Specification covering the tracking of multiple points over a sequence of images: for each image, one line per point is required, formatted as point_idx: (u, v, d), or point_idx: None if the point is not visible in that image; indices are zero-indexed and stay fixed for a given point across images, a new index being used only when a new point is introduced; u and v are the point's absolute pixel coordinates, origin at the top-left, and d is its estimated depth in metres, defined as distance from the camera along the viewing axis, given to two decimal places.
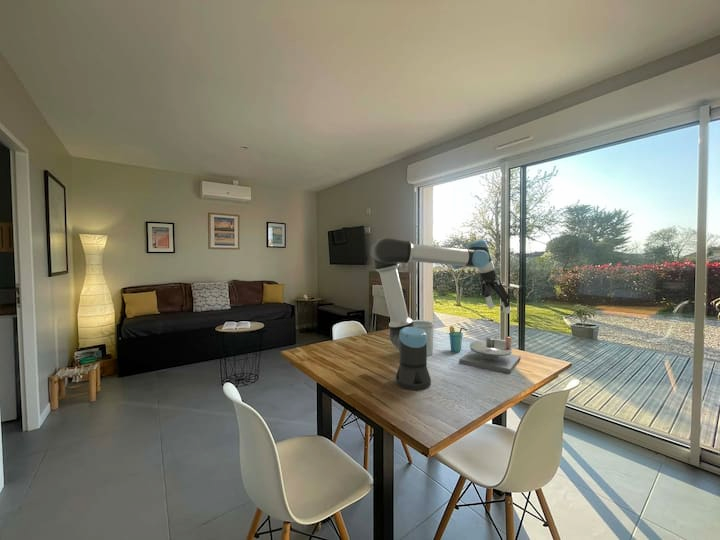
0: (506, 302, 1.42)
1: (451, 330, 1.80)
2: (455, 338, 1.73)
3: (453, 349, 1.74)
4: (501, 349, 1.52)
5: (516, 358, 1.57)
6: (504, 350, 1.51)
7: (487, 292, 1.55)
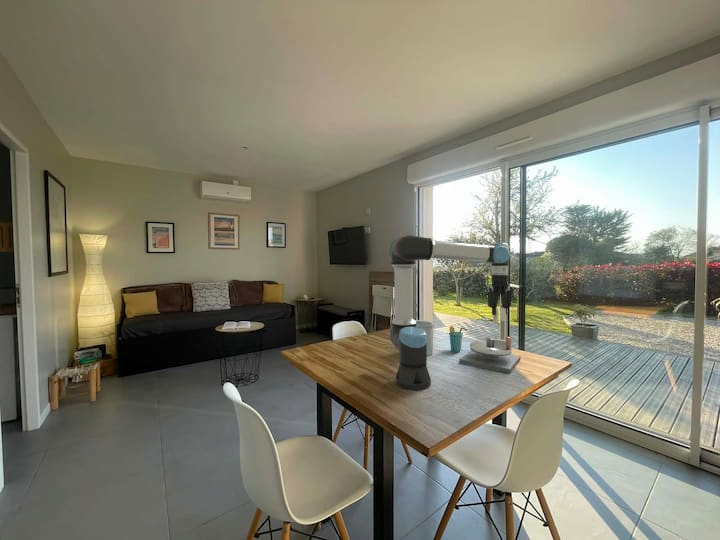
0: (492, 310, 1.50)
1: (451, 330, 1.80)
2: (455, 338, 1.73)
3: (453, 349, 1.75)
4: (501, 349, 1.52)
5: (516, 358, 1.57)
6: (504, 350, 1.51)
7: (502, 300, 1.51)
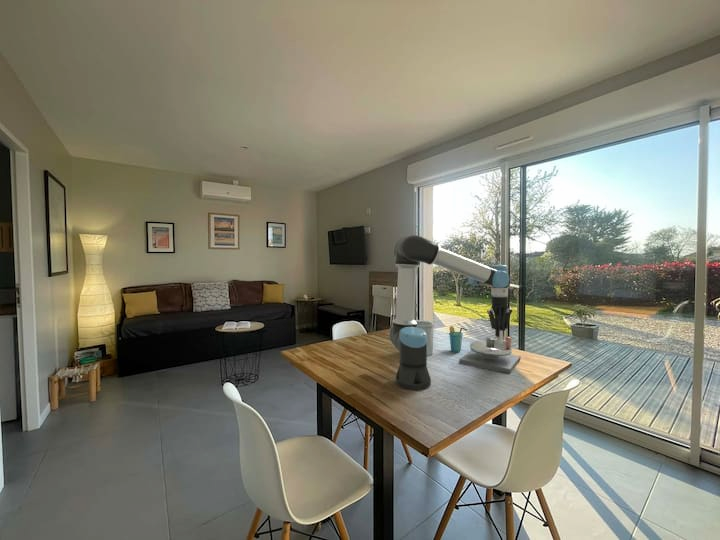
0: (496, 332, 1.51)
1: (451, 330, 1.80)
2: (455, 338, 1.73)
3: (453, 349, 1.74)
4: (501, 349, 1.52)
5: (516, 358, 1.57)
6: (504, 350, 1.51)
7: (500, 322, 1.51)
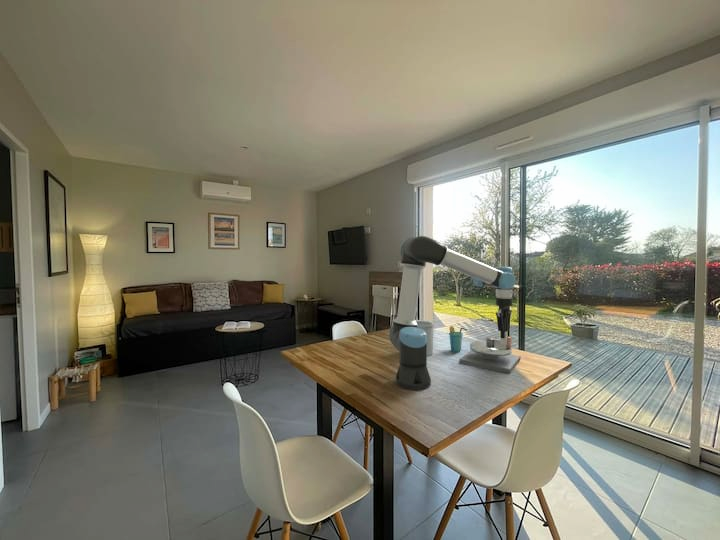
0: (502, 333, 1.51)
1: (451, 330, 1.80)
2: (455, 338, 1.73)
3: (453, 349, 1.74)
4: (502, 349, 1.52)
5: (516, 358, 1.57)
6: (504, 350, 1.51)
7: None
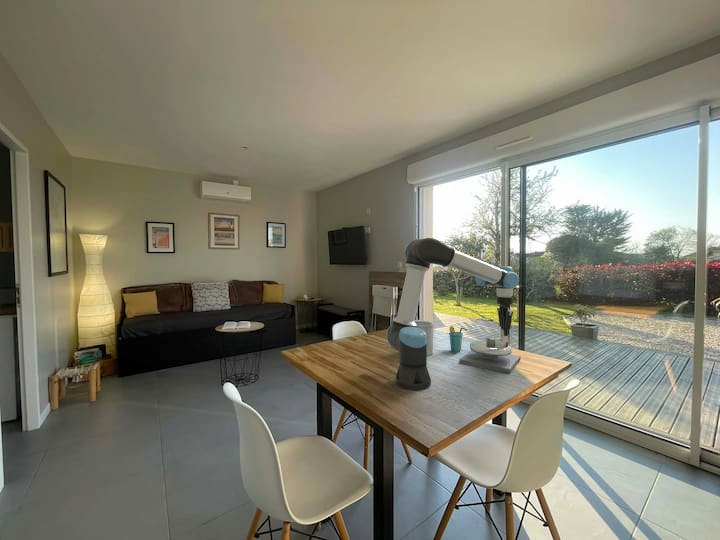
0: (506, 331, 1.55)
1: (451, 330, 1.80)
2: (455, 338, 1.73)
3: (453, 349, 1.74)
4: (505, 347, 1.55)
5: (516, 358, 1.57)
6: (508, 347, 1.55)
7: None
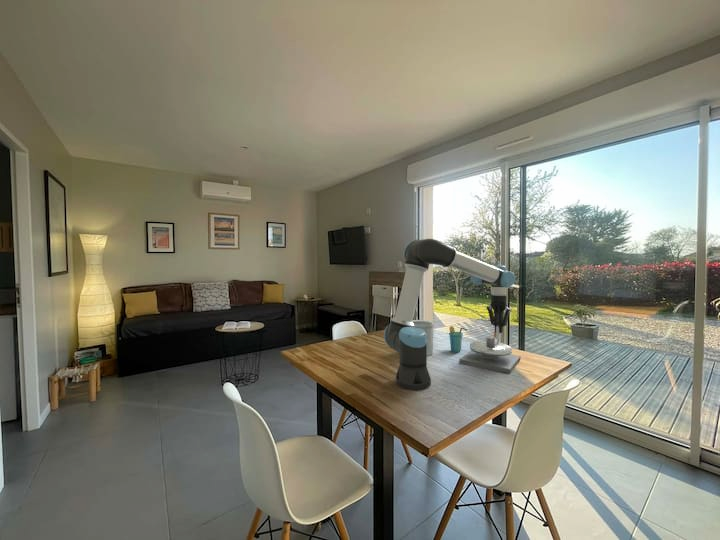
0: (502, 328, 1.60)
1: (451, 330, 1.80)
2: (455, 338, 1.73)
3: (453, 349, 1.74)
4: (501, 344, 1.60)
5: (516, 358, 1.57)
6: (502, 344, 1.61)
7: (497, 319, 1.62)
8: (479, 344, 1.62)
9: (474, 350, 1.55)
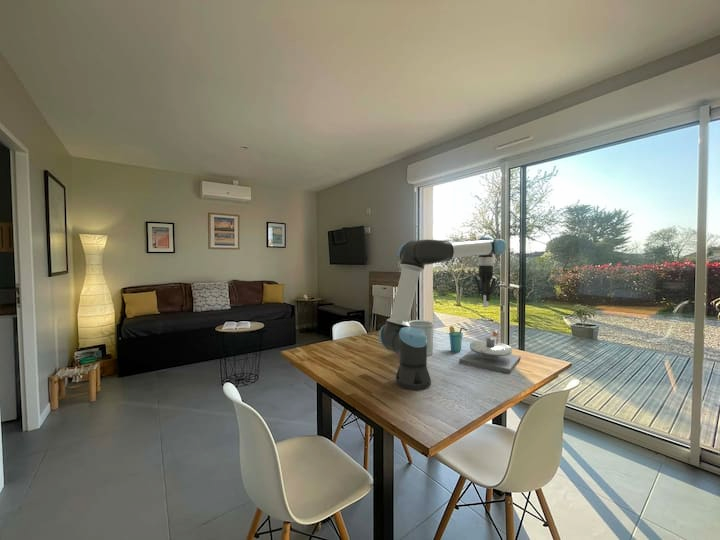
0: (489, 297, 1.69)
1: (451, 330, 1.80)
2: (455, 338, 1.73)
3: (453, 349, 1.74)
4: (501, 344, 1.61)
5: (516, 358, 1.57)
6: (501, 344, 1.62)
7: (484, 288, 1.71)
8: (479, 344, 1.61)
9: (475, 350, 1.55)
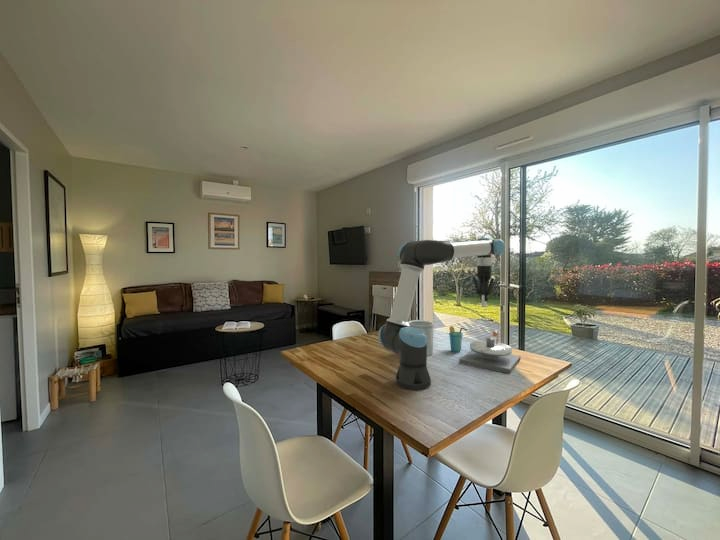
0: (487, 297, 1.70)
1: (451, 330, 1.80)
2: (455, 338, 1.73)
3: (453, 349, 1.74)
4: (501, 344, 1.61)
5: (516, 358, 1.57)
6: (501, 344, 1.62)
7: (482, 288, 1.72)
8: (479, 344, 1.61)
9: (475, 350, 1.55)
